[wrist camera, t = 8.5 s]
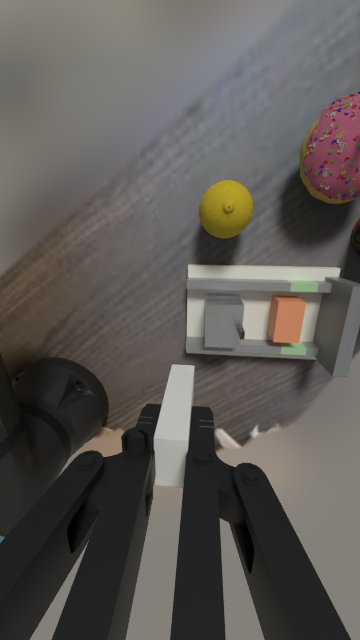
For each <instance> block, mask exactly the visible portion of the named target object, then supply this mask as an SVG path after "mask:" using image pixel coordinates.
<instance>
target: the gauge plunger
mask: <svg viewBox="0 0 360 640" xmlns="http://www.w3.org/2000/svg"><path fill="white" fill-rule="evenodd" d="M243 315H244V304H243V302H242V300H241V299H240V297H239V295H218V294H207V295H206V317H205V347H220V348H240V347H241V339H243V340H244V337H245V331H244V329H243Z"/></svg>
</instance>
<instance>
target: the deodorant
mask: <svg viewBox="0 0 360 640" xmlns="http://www.w3.org/2000/svg"><path fill="white" fill-rule="evenodd" d="M351 240H352V246H353V247H354V249H355V251H356V252H357V253H358V254H359V255H360V218H359V219H358V221H357V222H356V224H355V226H354V228H353V231H352V238H351Z"/></svg>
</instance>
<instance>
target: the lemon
mask: <svg viewBox="0 0 360 640" xmlns="http://www.w3.org/2000/svg"><path fill="white" fill-rule="evenodd" d="M252 214H253V201H252V197H251V195H250V193H249V191H248V190H247V189H246V188H245V187H244V186H243V185H242V184H240V183H238V182H236V181H231V180H226V181H221V182H218V183H216V184H214V185H213V186H211V187H210V188H209V189H208V190H207V191H206V192H205V194H204V196H203V197H202V199H201V203H200V206H199V216H200V221H201V223H202V225H203V227H204V228H205V230H206V231H207V232H208V233H209V234H211V235H212V236H215V237H217V238H224V239H226V238H232V237H234V236H236V235H238V234H240V233H241V232H242V231H243V230H244V229H245V228H246V227H247V226H248V224H249V222H250V220H251V218H252Z"/></svg>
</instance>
